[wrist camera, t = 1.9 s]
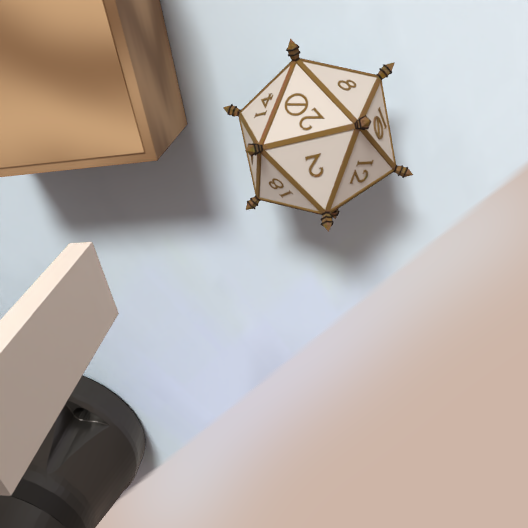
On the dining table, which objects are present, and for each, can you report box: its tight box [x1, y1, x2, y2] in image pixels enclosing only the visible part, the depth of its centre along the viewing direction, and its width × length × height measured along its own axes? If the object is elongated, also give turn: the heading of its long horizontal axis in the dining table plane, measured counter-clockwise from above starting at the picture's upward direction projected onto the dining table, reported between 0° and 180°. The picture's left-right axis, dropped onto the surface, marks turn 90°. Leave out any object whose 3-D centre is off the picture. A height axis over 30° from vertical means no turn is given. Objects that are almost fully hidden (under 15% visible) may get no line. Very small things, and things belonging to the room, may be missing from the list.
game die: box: [223, 39, 413, 232], centre depth 25 cm, size 9×8×10 cm
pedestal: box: [0, 0, 187, 177], centre depth 25 cm, size 11×11×6 cm
